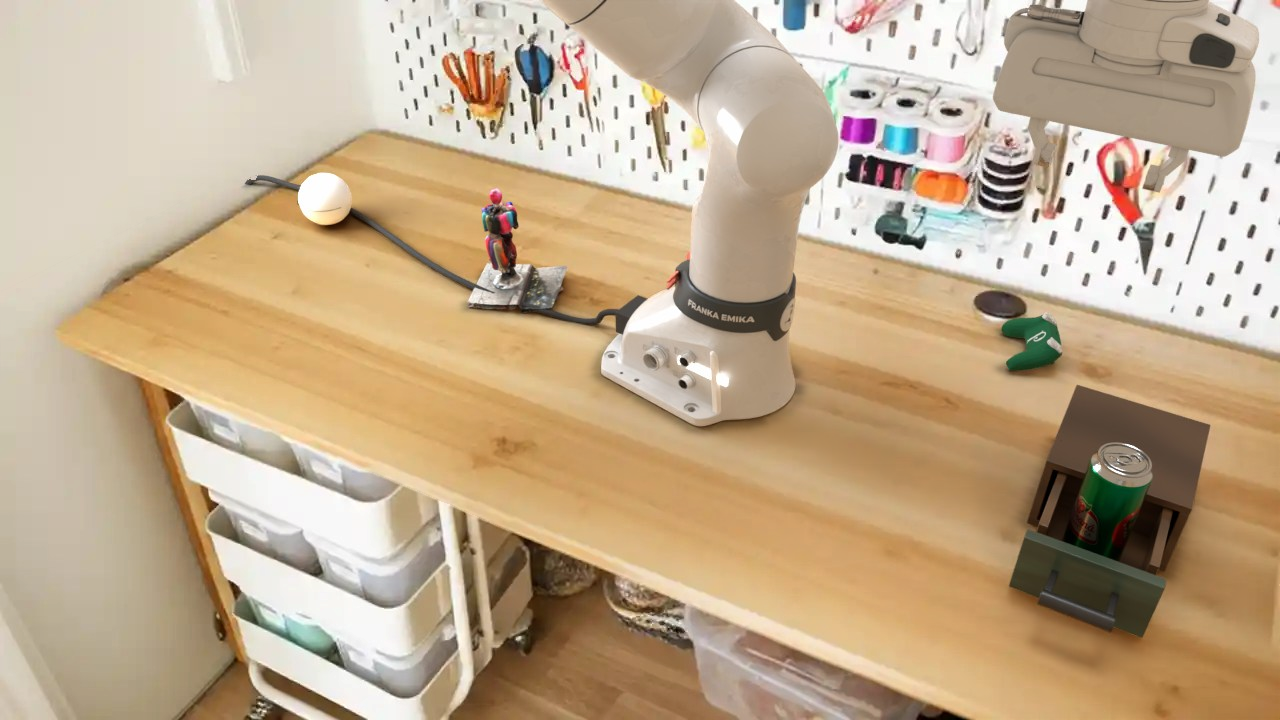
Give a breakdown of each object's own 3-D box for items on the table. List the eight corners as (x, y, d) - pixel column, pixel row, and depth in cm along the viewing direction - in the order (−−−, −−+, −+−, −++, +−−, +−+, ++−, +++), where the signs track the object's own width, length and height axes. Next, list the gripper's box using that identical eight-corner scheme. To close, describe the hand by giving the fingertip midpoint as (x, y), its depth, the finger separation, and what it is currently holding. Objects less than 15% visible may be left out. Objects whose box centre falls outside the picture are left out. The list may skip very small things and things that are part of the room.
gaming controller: (1022, 388, 122) (1069, 363, 119) (1003, 366, 121) (1051, 341, 118) (1015, 344, 130) (1060, 320, 127) (998, 323, 129) (1042, 298, 125)
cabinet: (1164, 572, 97) (1192, 509, 92) (1026, 522, 102) (1046, 460, 97) (1184, 486, 106) (1210, 424, 102) (1057, 444, 112) (1076, 384, 107)
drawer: (1134, 671, 87) (1157, 621, 83) (996, 616, 91) (1012, 566, 88) (1164, 546, 98) (1185, 497, 95) (1040, 503, 103) (1056, 455, 99)
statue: (470, 315, 133) (443, 210, 124) (490, 276, 140) (466, 174, 131) (553, 315, 130) (532, 208, 122) (569, 275, 138) (550, 171, 129)
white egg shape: (323, 206, 153) (314, 160, 149) (366, 215, 151) (358, 169, 147) (279, 237, 146) (269, 189, 142) (324, 247, 144) (314, 199, 139)
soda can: (1050, 538, 97) (1083, 440, 90) (1102, 536, 98) (1139, 437, 91) (1072, 579, 93) (1109, 480, 86) (1127, 576, 94) (1168, 477, 87)
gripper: (1002, 10, 87) (970, 162, 95) (1274, 56, 79) (1213, 218, 87) (1021, -10, 92) (989, 138, 100) (1280, 32, 83) (1222, 188, 92)
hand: (1095, 176), depth 93 cm, fingers open, 8 cm apart
